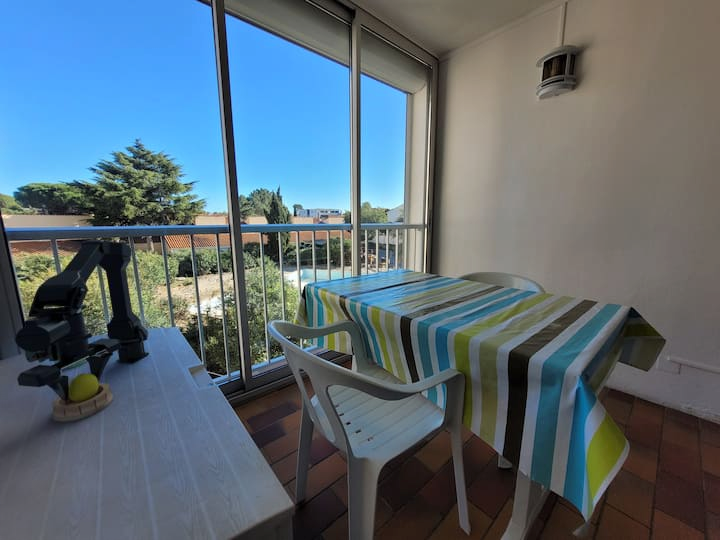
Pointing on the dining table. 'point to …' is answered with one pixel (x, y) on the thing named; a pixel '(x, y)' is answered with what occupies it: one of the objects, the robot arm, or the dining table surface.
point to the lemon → (83, 387)
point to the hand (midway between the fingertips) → (81, 390)
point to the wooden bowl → (81, 405)
